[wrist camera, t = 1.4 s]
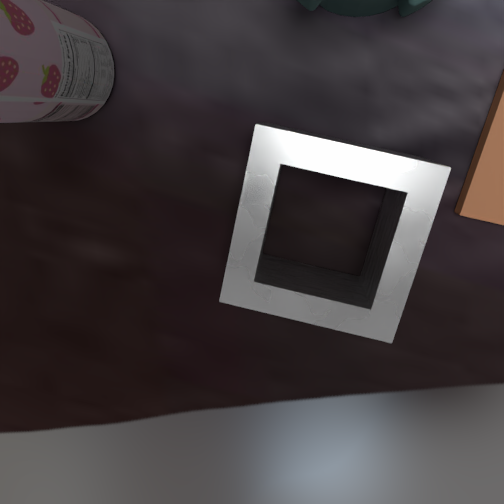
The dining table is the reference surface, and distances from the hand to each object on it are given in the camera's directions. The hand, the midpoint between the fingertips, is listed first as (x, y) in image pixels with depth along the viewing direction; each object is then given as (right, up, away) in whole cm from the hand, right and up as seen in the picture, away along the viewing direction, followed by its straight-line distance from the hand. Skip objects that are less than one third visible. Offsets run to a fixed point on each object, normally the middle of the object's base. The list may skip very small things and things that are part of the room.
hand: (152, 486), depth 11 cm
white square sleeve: (+6, +7, +16) cm, 19 cm away
